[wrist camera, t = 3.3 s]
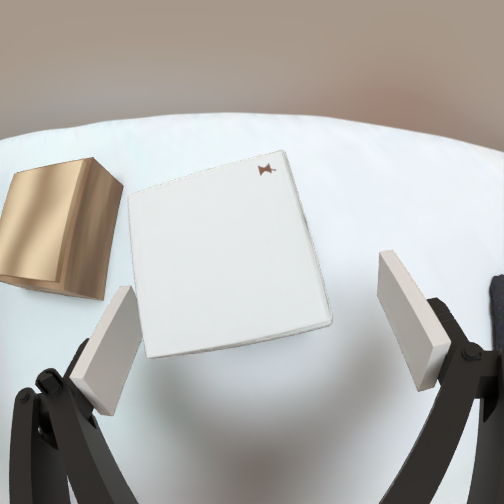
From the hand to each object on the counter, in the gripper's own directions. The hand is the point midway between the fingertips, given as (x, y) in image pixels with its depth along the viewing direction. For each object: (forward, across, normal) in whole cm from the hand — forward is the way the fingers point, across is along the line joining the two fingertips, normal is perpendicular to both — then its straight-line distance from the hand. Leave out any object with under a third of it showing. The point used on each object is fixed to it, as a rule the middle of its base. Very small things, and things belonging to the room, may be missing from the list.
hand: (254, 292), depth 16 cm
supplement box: (+6, -1, -5) cm, 8 cm away
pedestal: (+11, -19, 0) cm, 22 cm away
